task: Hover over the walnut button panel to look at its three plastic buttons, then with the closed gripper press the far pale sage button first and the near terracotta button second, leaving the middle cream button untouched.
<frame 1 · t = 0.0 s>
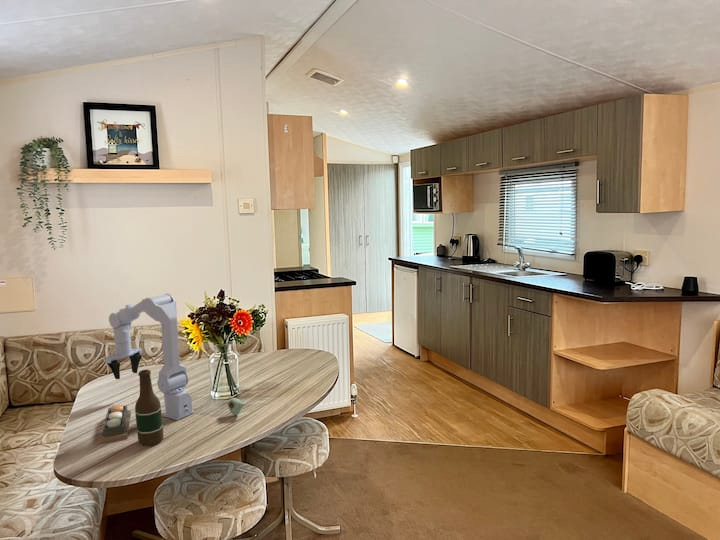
hand: (126, 375, 212), 10 cm above the table, tool pointing down, fingers open, 7 cm apart
sage button: (114, 424, 182), point 4 cm above the table, slide at 0.0 cm
terracotta button: (117, 409, 194), point 4 cm above the table, slide at 0.0 cm
cream button: (115, 416, 188), point 4 cm above the table, slide at 0.0 cm
beer bottle: (151, 442, 177), on the table
button panel: (116, 427, 189), on the table
robot head: (235, 416, 196), on the table
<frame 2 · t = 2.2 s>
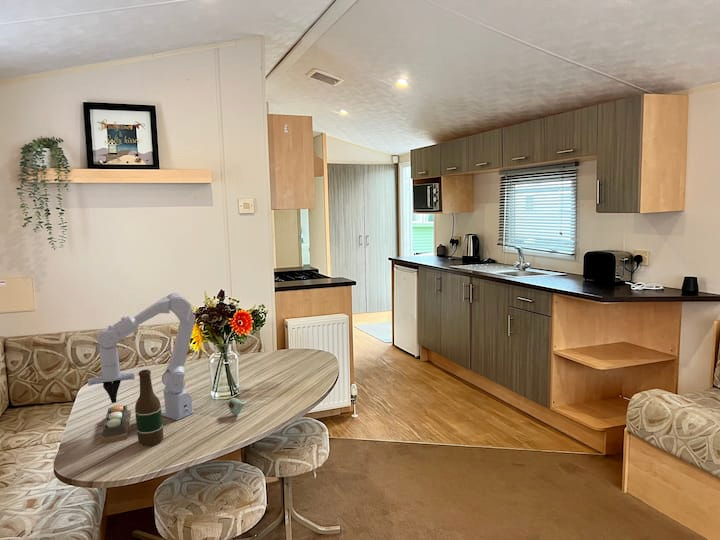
hand: (114, 401, 187), 9 cm above the table, tool pointing down, fingers closed
nothing on the table moved.
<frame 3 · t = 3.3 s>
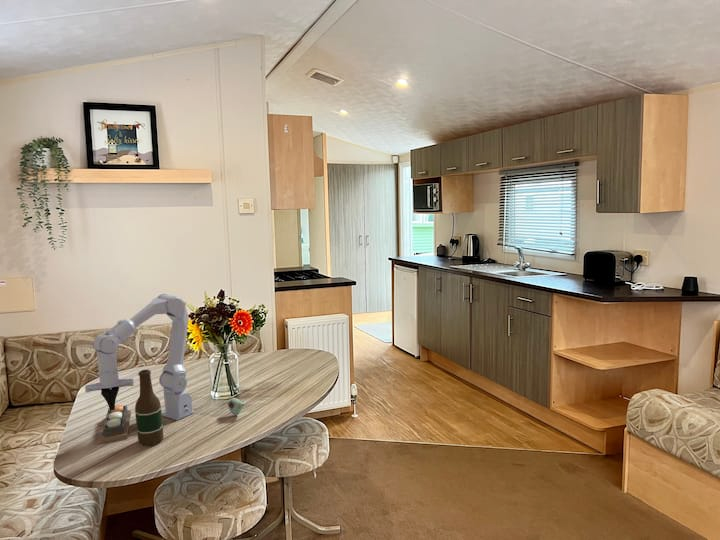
hand: (112, 409, 181), 9 cm above the table, tool pointing down, fingers closed
nothing on the table moved.
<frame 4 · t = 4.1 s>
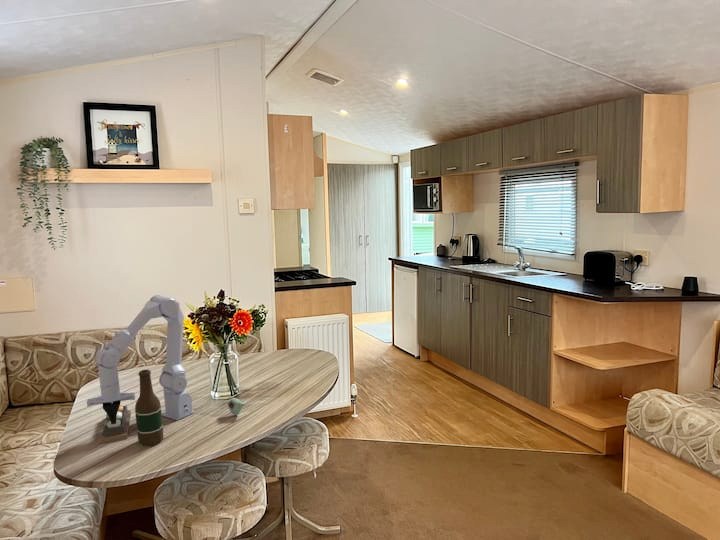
hand: (113, 422, 182), 4 cm above the table, tool pointing down, fingers closed, pressing on sage button
sage button: (114, 425, 182), point 4 cm above the table, slide at 0.5 cm, touching gripper
everything else where it was.
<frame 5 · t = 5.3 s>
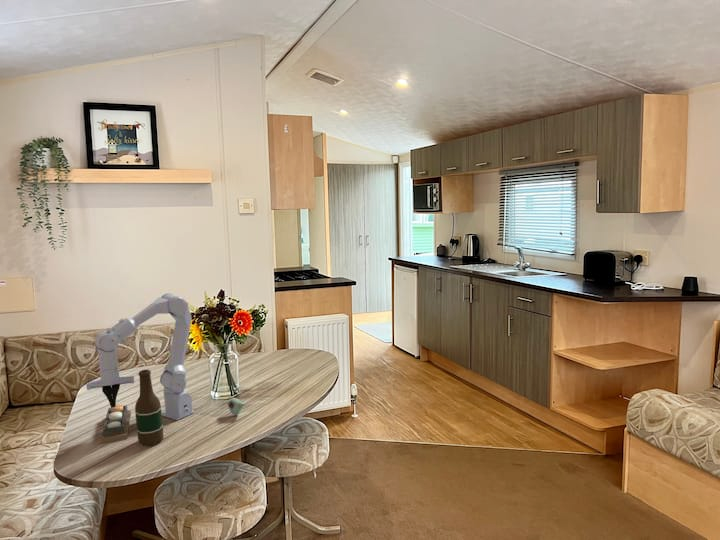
hand: (113, 406, 184), 9 cm above the table, tool pointing down, fingers closed
sage button: (114, 426, 182), point 3 cm above the table, slide at 1.0 cm
everything else where it was.
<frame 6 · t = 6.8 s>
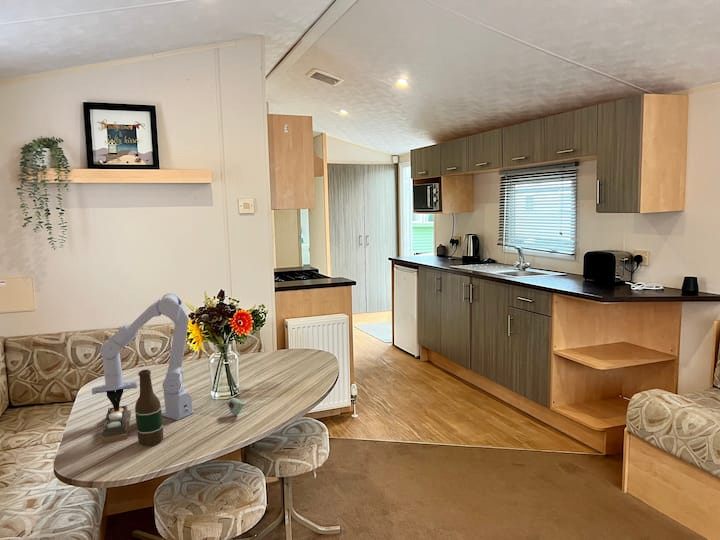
hand: (117, 410, 194), 4 cm above the table, tool pointing down, fingers closed, pressing on terracotta button
terracotta button: (117, 412, 194), point 3 cm above the table, slide at 1.0 cm, touching gripper
everything else where it was.
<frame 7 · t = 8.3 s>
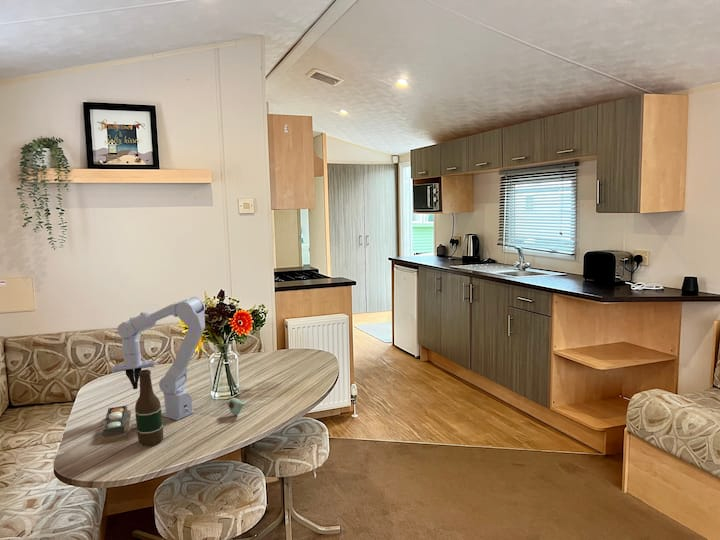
hand: (135, 388, 200), 9 cm above the table, tool pointing down, fingers closed
terracotta button: (117, 412, 194), point 3 cm above the table, slide at 1.0 cm
everything else where it was.
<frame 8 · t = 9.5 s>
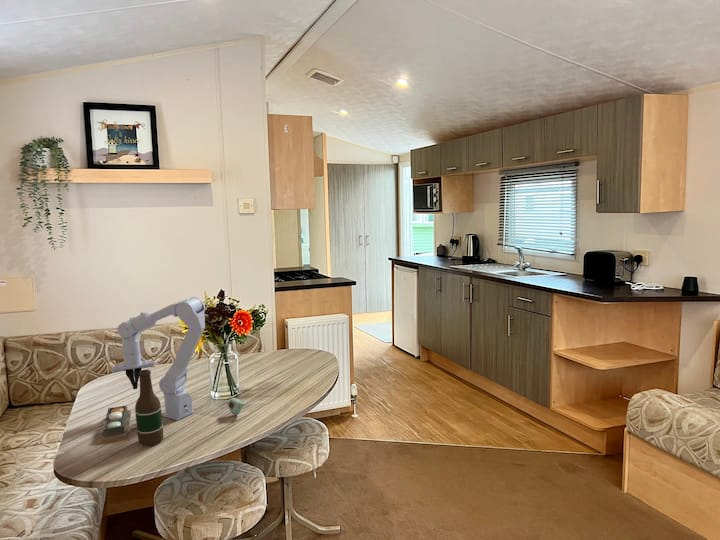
hand: (135, 388, 200), 9 cm above the table, tool pointing down, fingers closed
nothing on the table moved.
at the end: sage button slide at 1.0 cm; terracotta button slide at 1.0 cm; cream button slide at 0.0 cm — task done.
